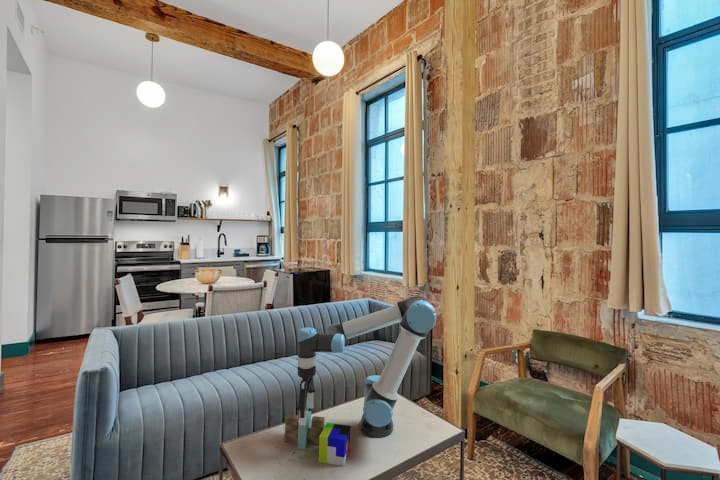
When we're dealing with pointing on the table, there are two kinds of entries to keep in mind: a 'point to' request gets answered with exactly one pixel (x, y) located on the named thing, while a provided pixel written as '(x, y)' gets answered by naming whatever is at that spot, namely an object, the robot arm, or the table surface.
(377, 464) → the table surface
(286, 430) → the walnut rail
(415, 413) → the table surface
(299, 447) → the notched teal block
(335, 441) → the puzzle toy
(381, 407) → the robot arm
